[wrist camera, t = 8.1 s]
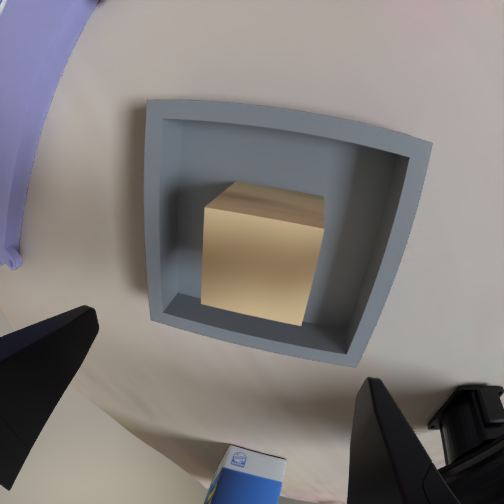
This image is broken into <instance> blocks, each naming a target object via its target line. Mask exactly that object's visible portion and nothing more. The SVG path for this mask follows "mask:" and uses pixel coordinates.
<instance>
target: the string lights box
mask: <svg viewBox="0 0 504 504" xmlns="http://www.w3.org/2000/svg"><path fill="white" fill-rule="evenodd" d="M286 462H287V460H285V459H281V458H276V457H272V456H268V455H264V454H261V453H257V452H253V451H250V450H246V449H243V448H239V447H236V446H233V445H230V446H229V448H228V449H227V451H226V453H225V455H224V457H223V459H222V461H221V462H220V464H219V466H218V468H217V469H216V471H215V473H214V476H213V479H212V482H211V485H210V488H209V490H208V493H207V496H206V499H205V502H204V504H278V500H279V496H280V491H281V487H282V482H283V477H284V472H285V467H286Z"/></svg>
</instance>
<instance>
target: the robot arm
mask: <svg viewBox="0 0 504 504" xmlns="http://www.w3.org/2000/svg"><path fill="white" fill-rule="evenodd" d="M98 331H99V324H98V319H97V315H96V311H95V309H94V308H92V307H89V306H86V305H83V306H80V307H78V308H75V309H72V310H70V311H67V312H64V313H62V314H59V315H57V316H54V317H51V318H49V319H46V320H43V321H41V322H38V323H36V324H33V325H30V326H28V327H25V328H23V329H20V330H17V331H15V332H12V333H10V334H7V335H4V336H3V337H0V485H2V486H3V487H4V488H6V489H7V490H10V489H11V488H12V485H13V483H14V481H15V479H16V477H17V475H18V473H19V472H20V470H21V468H22V466H23V464H24V462H25V460H26V458H27V456H28V454H29V452H30V450H31V448H32V447H33V445H34V443H35V441H36V439H37V438H38V436H39V434H40V432H41V430H42V429H43V427H44V425H45V423H46V422H47V420H48V418H49V416H50V415H51V413H52V412H53V410H54V408H55V406H56V405H57V403H58V401H59V400H60V398H61V397H62V395H63V393H64V391H65V390H66V388H67V387H68V385H69V384H70V382H71V381H72V379H73V377H74V376H75V374H76V373H77V371H78V369H79V368H80V366H81V364H82V363H83V361H84V359H85V357H86V355H87V353H88V351H89V349H90V347H91V345H92V343H93V341H94V339H95V337H96V336H97V334H98ZM503 393H504V389H503V387H467V386H462V387H459V388H457V389H456V391H455V392H454V393H453V394H452V396H451V397H450V398H449V400H448V401H447V402H446V403H445V405H444V406H443V407H442V408H441V409H440V411H439V412H438V413H437V414H436V415H435V416H434V418H433V419H432V420H431V421H430V422H429V423H428V429H430V430H438V429H440V432H441V438H442V444H443V450H444V457H445V464H446V466H444V467H442V468H440V469H438V470H437V469H436V467H435V465H434V464H433V463H432V460H431V459H430V457H429V455H428V454H427V452H426V450H425V449H424V447H423V446H422V444H421V442H420V441H419V439H418V437H417V436H416V434H415V433H414V431H413V429H412V428H411V426H410V425H409V423H408V421H407V420H406V418H405V417H404V415H403V413H402V412H401V410H400V409H399V407H398V406H397V404H396V402H395V401H394V399H393V398H392V396H391V395H390V393H389V391H388V390H387V388H386V387H385V385H384V384H383V382H382V381H381V380H380V379H379V378H372V377H368V378H367V379H366V380H365V381H364V383H363V385H362V387H361V389H360V390H359V392H358V394H357V397H356V403H355V411H354V419H353V427H352V434H351V441H350V464H349V483H348V497H347V504H504V408H503V406H502V403H501V400H500V396H501V395H502V394H503Z"/></svg>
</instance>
